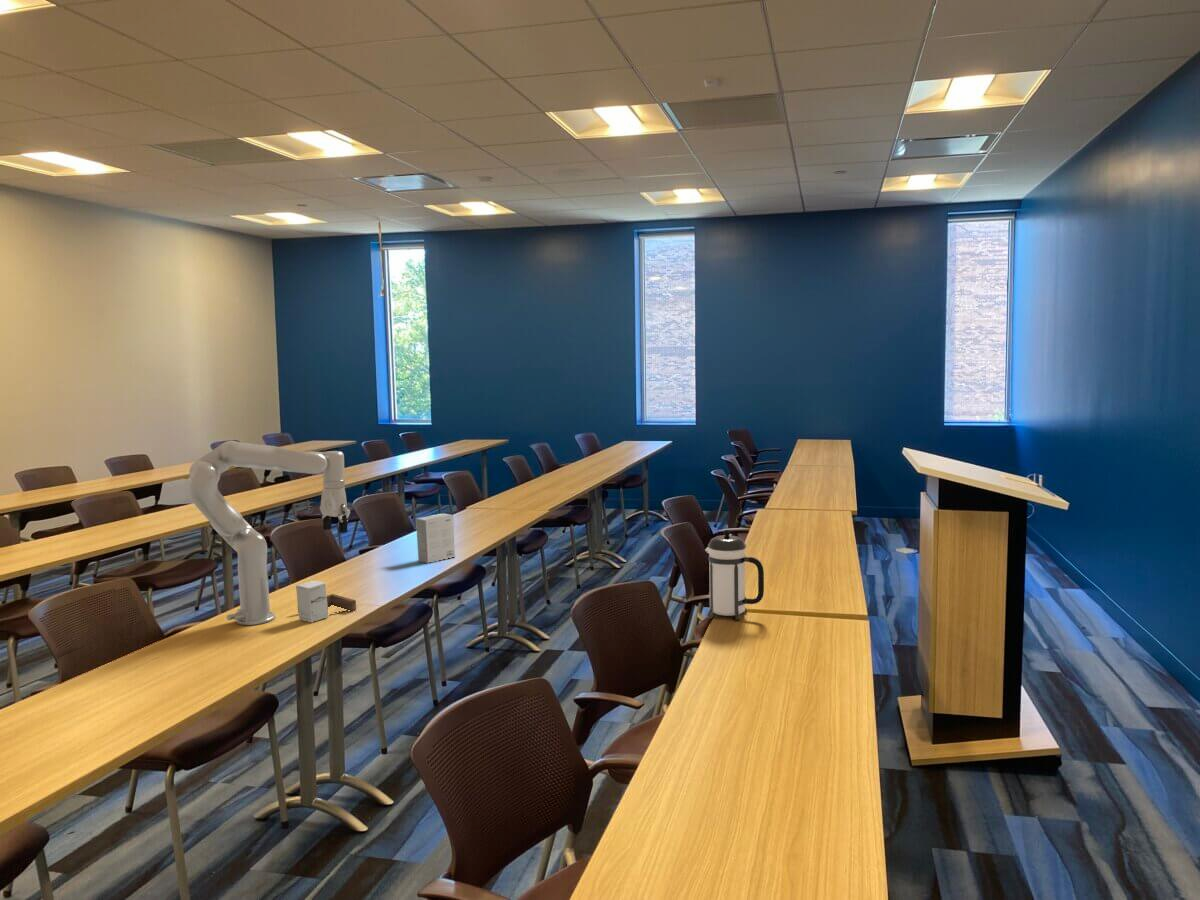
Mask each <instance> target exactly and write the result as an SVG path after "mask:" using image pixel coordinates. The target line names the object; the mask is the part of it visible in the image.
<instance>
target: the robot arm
mask: <svg viewBox="0 0 1200 900" xmlns="http://www.w3.org/2000/svg"><path fill="white" fill-rule="evenodd" d="M344 454H345V453H343V451H340V450H339V451H338V450H329V451H314V450H313V451H298V450H292V449H288V448H283V447H281V446H280V447H279V446H275V445H267V444H256V443H248V442H240V441H236V440H227V441H225V442H223V443H221V444H220V445H218V446H217V447H216V448H214V449H212V450H210V451H209V452H208V453H206V454H205V455H203V456H201V457H200V458H199V459H197V460H195V461H194V462H193V463H192V464H191V465H190V467H189V471H188V474H189V478H190V479H191V482H190V485H189V486H190V487H189V492H190V497H191V500H192V502H193V504H194V506H195V507H196V508H197V509H198V510H199V512H201V514H202V515H203V516H204V517H205V518H206V519H207V520H208V521H209V523H210V524H211V527H212V529H213V530H215V532H216V533H217V534H218V535H219V536H220V537H222V539H223V540H224V541H225V542H226V543H227V544H228V545H229V546H230V547H231V548H232V549H233V550H234V551H235V552H236V553H237V576H238V577H237V579H238V591H239V605H240V606H239V607H240V608H238V609H237V612H235V613H231V614H227V615H226V620H227V621H229V622H230V621H232V620H234V621H236V624H238V625H241V626H243V625H244V626H252V625H253V626H254V625H262V624H264V623H269V622H271V621H273V620H274V619H275V618H276V613H274V612H271V608H270V605H271V604H270V593H269V592H270V591H269V590H270V589H269V576H268V544H267V541H266V539H265V537H264V536H263V535H262V534H261V532H258V531H256V529H254V527H252V525H250V523H248V521H247V520H245V518H244V517H243V516H242V514H241V513H240V511H238V510H237V509H236V508H234V507H233V506H232V505H231V503H229V502H228V500H227V499H226V498H225V497H224V496H223V494H221V492H220V491H219V487H218V486H219V485H218V483H219V481H220V479H221V474H223V473H225V472H226V471H227V470H229V469H230V468H231V467H235V468H237V467H238V468H245V469H246V468H247V469H248V468H249V469H258V470H259V469H260V470H266V471H275V472H291V473H298V474H299V473H300V474H311V475H319V474H322V486H323V487H322V491H321V501H320V506H319V510H320V514H321V519H322V529H323V531H327V530H332V518H331V517H333V518H338V521H339V522H338V533H339V534H344V533H347V532H348V521H349V519H350V514H351V510H350V508H348V505H347V503H348V502H347V494H346V489H345V488H346V486H345V455H344Z"/></svg>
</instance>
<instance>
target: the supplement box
mask: <svg viewBox="0 0 1200 900" xmlns="http://www.w3.org/2000/svg"><path fill="white" fill-rule="evenodd" d="M326 586H327V585H326V582H324V581H317V580H311V581H307V582H304V583H300V584H297V585H295V588H296V601H297V603H298V604H297V613H298V612H299V614H298V620H299V621H302V620H303V622H306V621H308V622H307V623H309V622H312V623H315V622H318V621H320V620H323V619H327V618H329V616H328V606H327V595H328V594H327V587H326ZM314 621H315V622H314Z"/></svg>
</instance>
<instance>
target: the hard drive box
mask: <svg viewBox="0 0 1200 900" xmlns="http://www.w3.org/2000/svg"><path fill="white" fill-rule="evenodd" d="M415 526H416V542H417V557H418V562H419V561H421V562H420V563H423V562H425V563H424V564H430V563H429V562H432V563H435V562H434V561H436V562H439V560H441V561H444V560H443V559H445V560H449V559H448V558H450V559H453V558H452V557H454V558H456V545H455V529H454V528H455V526H454V515H453V514H449V513H445V512H444V513H437V514H432V515H428V516H423V517H422V516H421V517H417V518H415Z"/></svg>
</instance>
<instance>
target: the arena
mask: <svg viewBox="0 0 1200 900" xmlns="http://www.w3.org/2000/svg"><path fill="white" fill-rule="evenodd" d="M326 595H327V606H328V607H330V606H331V605H334V606H337V607H341V608H344V609H347V610H350V611H349V612H351V611H355V610H356V611H357V600H355V599H353V598H348V597H346V596H341V595H338V594H334V593H332V594H331V593H330V594H326ZM297 605H298V602H297ZM356 611H355V612H356ZM339 612H340V611H339ZM298 613H299V612H298V611H297V614H298ZM334 613H337V612H334Z"/></svg>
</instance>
